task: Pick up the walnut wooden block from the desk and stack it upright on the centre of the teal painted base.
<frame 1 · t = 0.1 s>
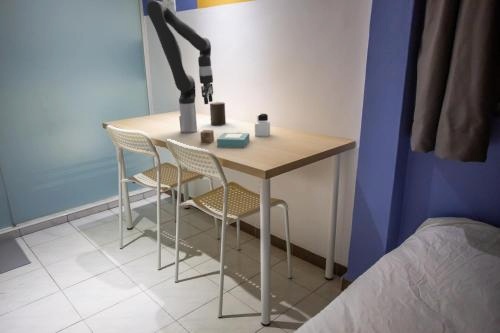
hand: (208, 102, 218), 17 cm above the table, tool pointing down, fingers open, 8 cm apart
teal base: (233, 143, 195), on the table
medicine bottle: (262, 135, 212), on the table
walnut block: (207, 142, 200), on the table
pillar candle: (218, 124, 244), on the table
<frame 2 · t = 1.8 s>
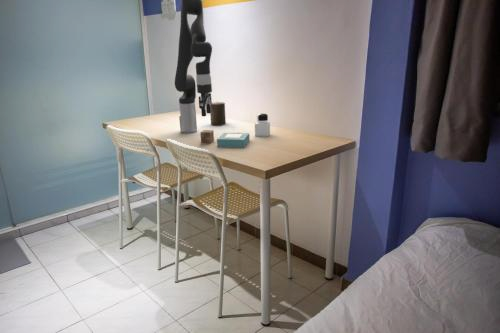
hand: (206, 114, 196), 15 cm above the table, tool pointing down, fingers open, 8 cm apart
nothing on the table moved.
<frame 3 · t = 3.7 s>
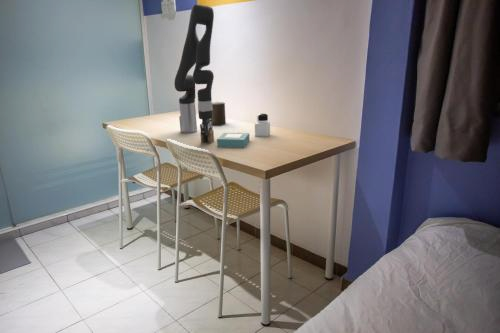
hand: (207, 140, 200), 1 cm above the table, tool pointing down, fingers closed on walnut block, 5 cm apart
walnut block: (207, 142, 200), on the table, touching gripper
everything else where it was.
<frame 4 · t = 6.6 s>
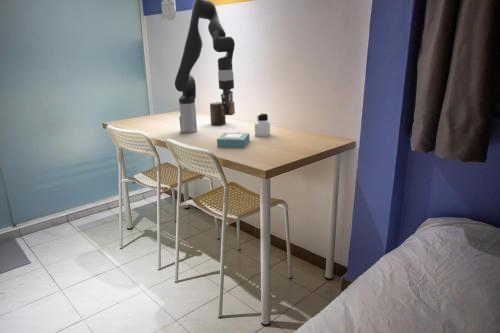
hand: (228, 112, 191), 16 cm above the table, tool pointing down, fingers closed on walnut block, 5 cm apart
walnut block: (228, 114, 191), point 15 cm above the table, touching gripper
everything else where it was.
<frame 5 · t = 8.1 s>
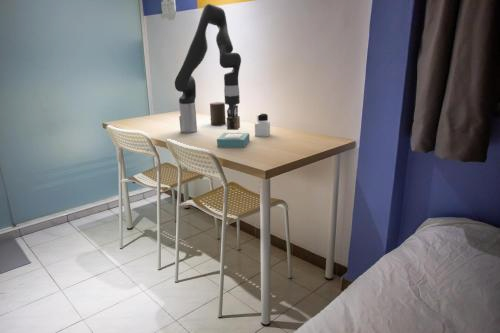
hand: (233, 127, 193), 9 cm above the table, tool pointing down, fingers closed on walnut block, 5 cm apart
walnut block: (233, 128, 193), point 8 cm above the table, touching gripper
everything else where it was.
when the fingers open (6 cm above the table, at t = 9.4 s): walnut block drops 1 cm, resting on teal base.
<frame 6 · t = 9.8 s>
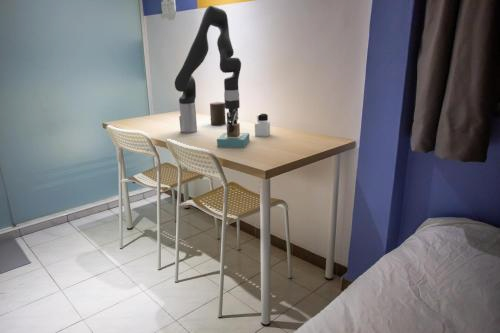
hand: (233, 130, 193), 7 cm above the table, tool pointing down, fingers open, 8 cm apart
walnut block: (233, 135, 194), point 4 cm above the table, touching teal base
everything else where it was.
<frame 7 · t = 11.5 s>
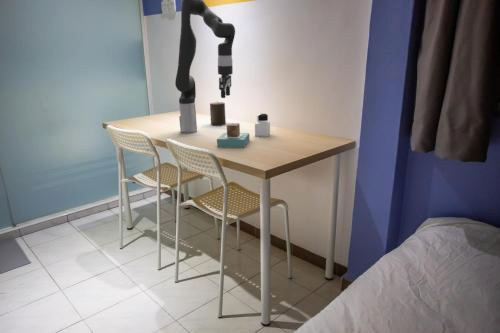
hand: (225, 96, 196), 23 cm above the table, tool pointing down, fingers open, 8 cm apart
nothing on the table moved.
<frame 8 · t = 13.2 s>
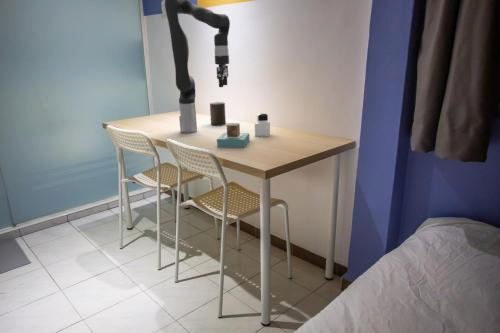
hand: (223, 86, 201), 28 cm above the table, tool pointing down, fingers open, 8 cm apart
nothing on the table moved.
at the end: walnut block inside the target area on the teal base (0.1 cm from its centre), point 4.2 cm above the teal base's base; walnut block tilted 0°; the gripper is holding nothing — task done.
